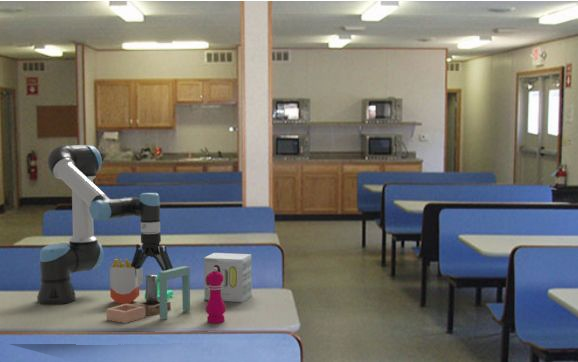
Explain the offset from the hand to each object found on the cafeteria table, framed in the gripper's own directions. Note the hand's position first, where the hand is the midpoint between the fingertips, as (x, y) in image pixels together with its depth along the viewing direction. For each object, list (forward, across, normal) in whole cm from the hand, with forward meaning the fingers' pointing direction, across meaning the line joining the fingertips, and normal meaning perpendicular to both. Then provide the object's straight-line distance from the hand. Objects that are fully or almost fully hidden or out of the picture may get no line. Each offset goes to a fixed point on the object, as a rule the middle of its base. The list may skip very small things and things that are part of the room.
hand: (152, 286), depth 263 cm
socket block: (+9, 0, 0) cm, 9 cm away
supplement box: (+10, +12, +32) cm, 36 cm away
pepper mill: (+10, +31, +2) cm, 32 cm away
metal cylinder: (+10, 0, 0) cm, 10 cm away
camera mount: (+10, -12, +16) cm, 22 cm away
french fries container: (+9, -20, +4) cm, 23 cm away
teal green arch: (+10, +12, 0) cm, 15 cm away
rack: (+10, 0, -14) cm, 17 cm away
